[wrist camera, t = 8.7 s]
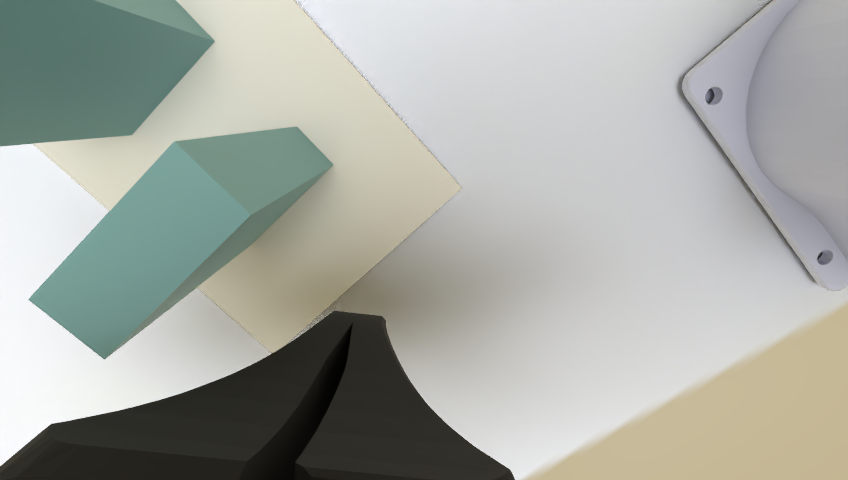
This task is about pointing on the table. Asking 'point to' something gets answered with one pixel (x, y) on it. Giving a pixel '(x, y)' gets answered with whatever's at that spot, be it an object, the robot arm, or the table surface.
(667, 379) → the table surface
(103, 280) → the teal green rectangular block
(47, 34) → the tile
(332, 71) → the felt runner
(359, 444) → the robot arm
